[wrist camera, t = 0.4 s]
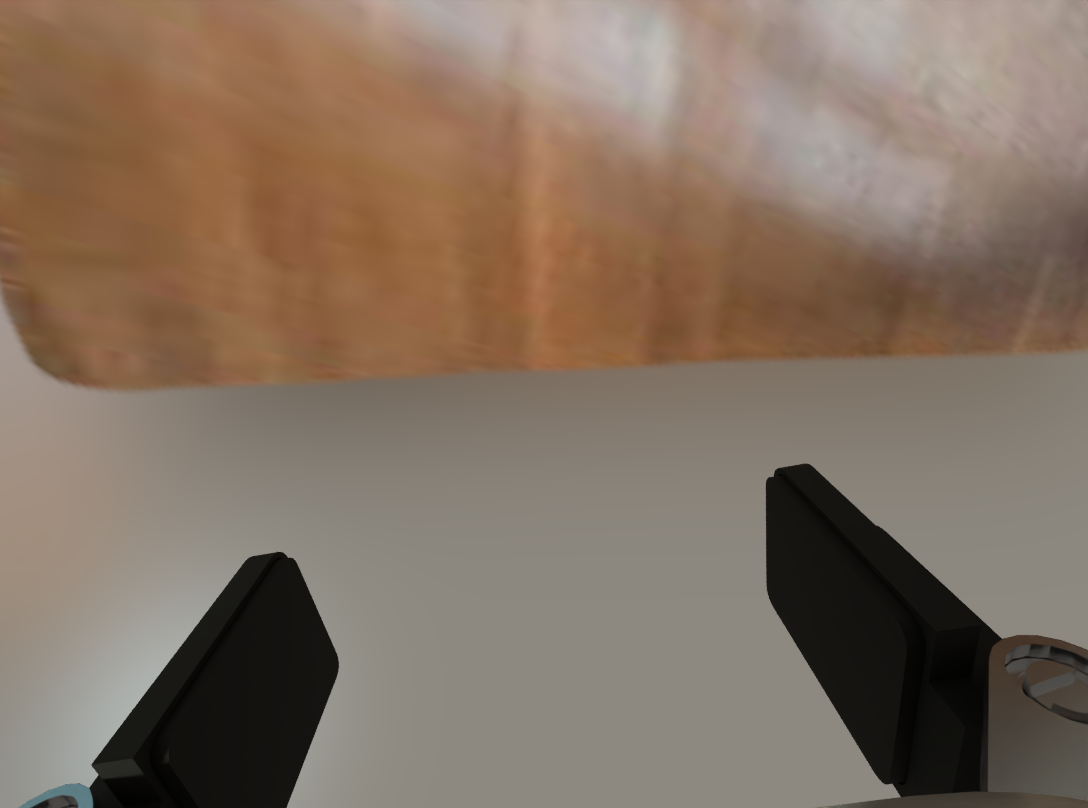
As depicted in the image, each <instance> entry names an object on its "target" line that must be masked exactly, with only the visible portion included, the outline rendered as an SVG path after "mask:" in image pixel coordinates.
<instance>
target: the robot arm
mask: <svg viewBox="0 0 1088 808" xmlns="http://www.w3.org/2000/svg"><path fill="white" fill-rule="evenodd" d="M766 563H767V564H766V569H767V571H766V575H767V591H768V595H769V599H770V601H771V603H772V605H773V607H774V609H775V611H776V612H777V614H778V615H779V617H780V619H781V620H782V622H783V624H784V625H785V627H786V629H787V630H788V632H789V633H790V635H791V637H792V638H793V640H794V642H795V643H796V645H797V647H798V648H799V650H800V651H801V653H802V655H803V656H804V658H805V660H806V661H807V663H808V665H809V666H810V668H811V670H812V671H813V673H814V674H815V676H816V678H817V679H818V681H819V683H820V684H821V686H822V687H823V689H824V691H825V692H826V694H827V696H828V697H829V699H830V701H831V702H832V704H833V705H834V707H835V709H836V711H837V712H838V714H839V715H840V717H841V719H842V720H843V722H844V724H845V725H846V727H847V729H848V730H849V732H850V733H851V735H852V737H853V738H854V740H855V742H856V743H857V745H858V746H859V748H860V750H861V751H862V753H863V755H864V756H865V758H866V760H867V761H868V763H869V764H870V766H871V768H872V769H873V771H874V773H875V774H876V775H877V777H878V778H879V779H880V780H881V781H882V783H884V784H893V785H894V787H895V788H896V790H897V791H898V793H899V795H900V796H901V797H899V798H892V799H884V800H875V801H868V802H859V803H851V804H843V805H834V806H826V807H819V808H1088V650H1086V649H1084V648H1082V647H1079V646H1076V645H1073V644H1070V643H1068V642H1065V641H1062V640H1058V639H1053V638H1048V637H1043V636H1038V635H1016V636H1012V637H1008V638H1004V639H1002V638H1001V637H999V636H998V635H997V634H996V633H995V632H994V631H993V630H992V629H991V628H990V627H989V626H988V625H986V624H985V623H984V622H983V621H982V620H981V619H980V618H979V617H978V616H977V615H976V614H975V613H973V612H972V611H971V610H970V609H969V608H968V607H967V606H966V605H965V604H964V603H963V602H961V601H960V600H959V599H958V598H957V597H956V596H955V595H954V594H953V593H952V592H951V591H950V590H948V588H946V587H945V586H944V585H943V584H942V583H941V582H940V581H939V580H938V579H937V578H936V577H935V576H933V575H932V574H931V573H930V572H929V571H928V570H927V569H926V568H925V567H924V566H923V565H921V564H920V563H919V562H918V561H917V560H916V559H915V558H914V557H913V556H912V555H911V554H910V553H909V552H907V551H906V550H905V549H904V548H903V547H902V546H901V545H900V544H899V543H898V542H897V541H896V540H894V539H893V538H892V537H891V536H890V535H889V534H888V533H887V532H886V531H884V530H883V529H882V528H880V527H879V526H875V524H873V523H872V522H871V521H870V520H869V519H868V518H867V517H866V516H865V515H864V514H863V513H861V512H860V510H858V509H857V508H856V507H855V506H854V505H853V504H852V503H851V502H850V501H849V500H848V499H847V498H846V497H845V496H844V495H842V494H841V493H840V492H839V491H838V490H837V489H836V488H835V487H834V486H833V485H831V483H829V481H827V480H826V479H825V478H824V477H823V476H822V475H821V474H820V473H819V472H818V471H817V470H816V469H815V468H814V467H812V466H811V465H810V464H800V465H795V466H788V467H783V468H778V469H776V470H775V473H774V477H769V478H768V479H767V481H766ZM338 668H339V661H338V656H337V653H336V651H335V649H334V647H333V645H332V642H331V640H330V637H329V635H328V633H327V631H326V628H325V626H324V624H323V621H322V619H321V617H320V615H319V613H318V610H317V608H316V605H315V603H314V601H313V599H312V596H311V594H310V592H309V590H308V587H307V585H306V583H305V580H304V578H303V576H302V574H301V571H300V569H299V567H298V565H297V563H296V561H295V560H294V559H293V558H288V557H287V556H286V555H285V554H284V553H282V552H276V553H270V554H264V555H258V556H252V557H250V558H248V559H247V560H246V561H245V562H244V564H243V565H242V566H241V568H240V569H239V570H238V572H237V573H236V574H235V576H234V577H233V578H232V579H231V581H230V582H229V583H228V585H227V586H226V587H225V589H224V590H223V591H222V593H221V594H220V595H219V597H218V598H217V599H216V601H215V602H214V603H213V605H212V606H211V607H210V609H209V610H208V611H207V613H206V614H205V615H204V616H203V618H202V619H201V620H200V622H199V623H198V625H197V626H196V627H195V628H194V630H193V631H192V632H191V634H190V635H189V636H188V638H187V639H186V641H185V642H184V643H183V644H182V646H181V647H180V648H179V650H178V651H177V652H176V654H175V655H174V656H173V658H172V659H171V660H170V661H169V663H168V664H167V665H166V667H165V668H164V669H163V671H162V672H161V673H160V675H159V676H158V677H157V679H156V680H155V681H154V683H153V684H152V685H151V687H150V688H149V689H148V691H147V692H146V693H145V694H144V696H143V697H142V698H141V700H140V701H139V702H138V704H137V705H136V706H135V708H134V709H133V710H132V712H131V713H130V714H129V716H128V717H127V718H126V720H125V721H124V722H123V724H122V725H121V726H120V728H119V729H118V730H117V731H116V733H115V734H114V735H113V737H112V738H111V739H110V741H109V742H108V743H107V745H106V746H105V747H104V749H103V750H102V751H101V753H100V754H99V755H98V757H97V758H96V759H95V761H94V762H93V763H92V767H93V768H94V769H95V770H96V772H97V773H98V774H99V775H98V777H97V778H96V779H95V781H94V782H93V784H92V785H91V786H90V788H88V787H86V786H84V785H82V784H80V783H79V784H66V785H63V786H60V787H57V788H54V789H51V790H48V791H46V792H44V793H43V794H41V795H39V796H37V797H35V798H33V799H31V800H30V801H28V802H26V803H25V804H23V805H22V806H21V807H19V808H286V807H287V805H288V802H289V800H290V797H291V794H292V792H293V789H294V787H295V784H296V781H297V779H298V776H299V774H300V771H301V768H302V766H303V763H304V760H305V758H306V755H307V753H308V750H309V748H310V745H311V742H312V740H313V737H314V735H315V732H316V729H317V727H318V724H319V721H320V719H321V716H322V714H323V711H324V709H325V706H326V703H327V701H328V698H329V695H330V693H331V690H332V688H333V685H334V683H335V680H336V677H337V674H338Z"/></svg>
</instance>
